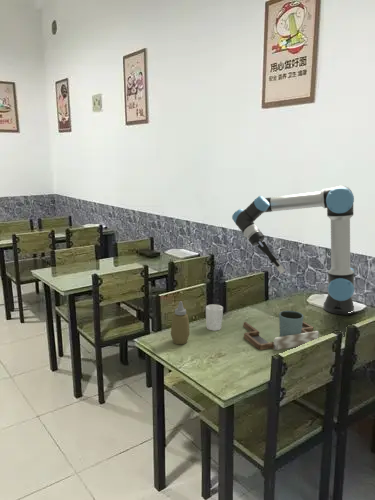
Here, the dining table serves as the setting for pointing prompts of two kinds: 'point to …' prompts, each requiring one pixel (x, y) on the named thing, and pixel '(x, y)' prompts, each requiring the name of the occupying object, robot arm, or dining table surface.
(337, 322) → the dining table surface
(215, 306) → the white cup
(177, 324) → the squeeze bottle
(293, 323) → the blue-grey cup
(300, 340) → the brown walled tray frame
